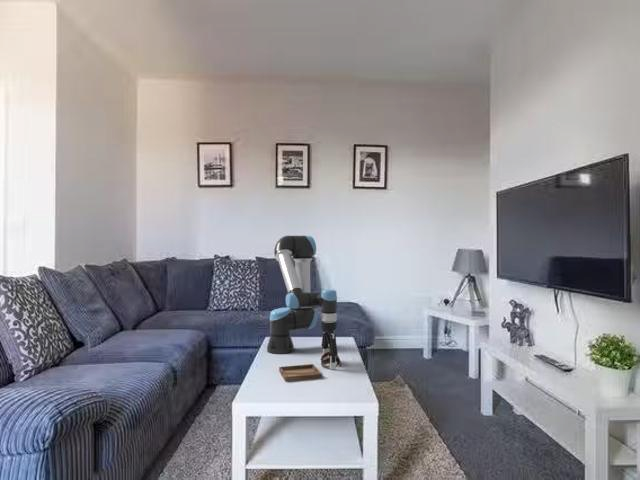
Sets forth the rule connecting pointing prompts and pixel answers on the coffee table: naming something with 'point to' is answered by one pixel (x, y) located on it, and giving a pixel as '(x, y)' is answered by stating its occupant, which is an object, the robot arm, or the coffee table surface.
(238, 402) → the coffee table surface
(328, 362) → the pottery mug
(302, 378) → the walnut tray
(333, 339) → the robot arm
